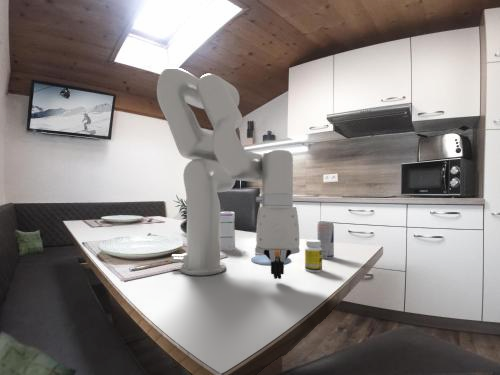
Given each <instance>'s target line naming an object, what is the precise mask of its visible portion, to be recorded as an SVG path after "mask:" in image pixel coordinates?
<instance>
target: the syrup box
mask: <svg viewBox="0 0 500 375" xmlns="http://www.w3.org/2000/svg"><path fill="white" fill-rule="evenodd" d="M235 213H236V212H234V211H220V251H234V250H235V248H236V226H235V225H236V223H235V222H236V221H235V220H236V219H235V218H236V217H235V216H236V215H235Z"/></svg>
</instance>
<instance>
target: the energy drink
mask: <svg viewBox="0 0 500 375" xmlns="http://www.w3.org/2000/svg"><path fill="white" fill-rule="evenodd" d="M334 226H335V225H334V222H333V221H322V220H321V221H317V240H320V241H321V246H320V247H321V248H322V260H331V259H334V257H335V255H334V254H335V248H334V247H335V242H334V241H335V237H334V236H335V233H334V232H335V230H334V228H335V227H334Z"/></svg>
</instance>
